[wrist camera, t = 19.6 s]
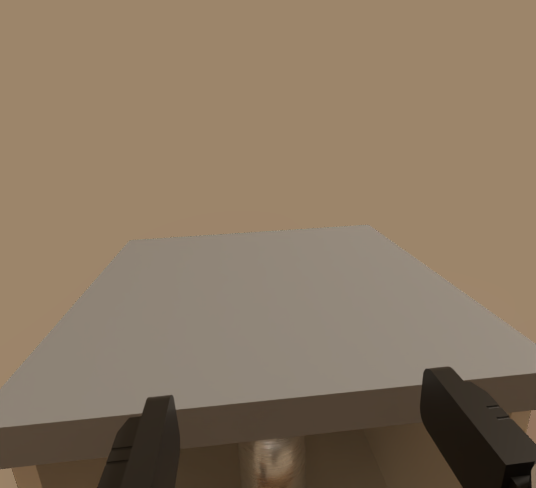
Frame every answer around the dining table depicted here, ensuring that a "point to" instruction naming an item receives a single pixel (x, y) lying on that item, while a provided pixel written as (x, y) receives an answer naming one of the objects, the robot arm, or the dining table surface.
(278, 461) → the chrome cylinder
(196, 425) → the under-counter cabinet
